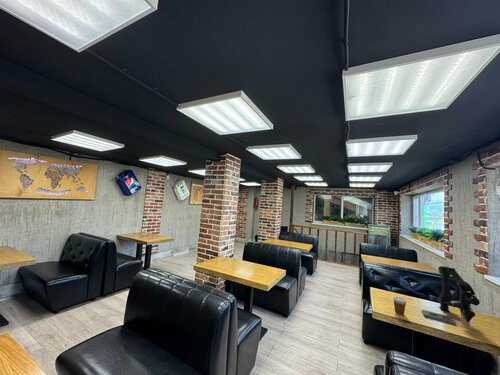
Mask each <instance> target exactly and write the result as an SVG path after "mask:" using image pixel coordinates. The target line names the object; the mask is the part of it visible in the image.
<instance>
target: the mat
mask: <svg viewBox="0 0 500 375" xmlns="http://www.w3.org/2000/svg"><path fill="white" fill-rule="evenodd" d="M454 321H455V322H456V325H458V326H459V327H461V328H462V327H463V328H466V329H469V330H474V331H478V330H477V328H476V327H475V326H474V325H473V324H472V323H470V327H469V326H465V325H463V324H462V323H461V320H458V319H454Z"/></svg>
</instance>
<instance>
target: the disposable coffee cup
mask: <svg viewBox="0 0 500 375" xmlns="http://www.w3.org/2000/svg"><path fill="white" fill-rule="evenodd" d="M392 300H393V306H394V312H396V313H397V315H398V314H400V315H399V316H404V315H405V312H406V311H405V310H406V305H407V301H406V299H404V298H401V297H398V296H397V297H396V296H394V297H393V298H392ZM396 313H395V314H396Z"/></svg>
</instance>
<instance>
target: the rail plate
mask: <svg viewBox="0 0 500 375" xmlns="http://www.w3.org/2000/svg"><path fill="white" fill-rule="evenodd" d="M421 314H422V316H423V317H424V318H427V319H432V320H435V321H439V322H443V323H447V324H451V325H454V326H455V325H456V326H457V322H456V321H455V319H454V318H453V316H450V315H447V314H446V315H445V314H443V313H442V314H441V313H438V312H437V313H436V312H434V311H430V310H425V309H421Z"/></svg>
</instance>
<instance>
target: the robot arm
mask: <svg viewBox="0 0 500 375" xmlns="http://www.w3.org/2000/svg"><path fill="white" fill-rule="evenodd" d="M438 272H439V273H438V274H439V275H440V276H441V291H440V293H439V297H437V300H436V301H437V302H438V303H439V304H440V306H438V309H440V310H441V311H444V312H447V313H451V311H450V309H449V306H450V305H451V306H452V307H453V308H458V309H459V311H460V314H461V313H464V314H465V316H466V321H467V322H469V321H472V319H473V318H474V317H476V313H475V311H473V310H472V307H471V305H474V306H479V305H480V303H481V301H480V300H479V299H478V298H477V296H476V293H475V290H474V289H473V287H472V286H471V285H470V284H469V282H467V281H465V280H464V279H463V277H461V276H460V274H459V273H458V272H457V271H456V268H454V267H449V266H442V265H441V266H438ZM450 276H451V277H452V278H453V280H454V282H456V286H457V288H458V292H459V299H458V300H454V299H453V296H452V295H451V294H450V280H449V279H450V278H449V277H450Z"/></svg>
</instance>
